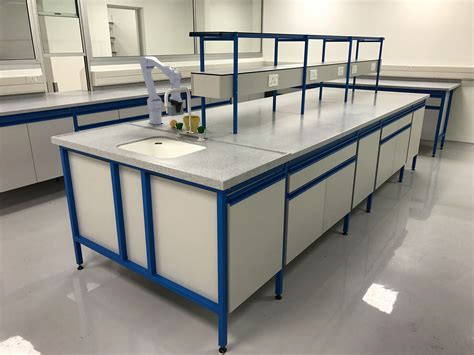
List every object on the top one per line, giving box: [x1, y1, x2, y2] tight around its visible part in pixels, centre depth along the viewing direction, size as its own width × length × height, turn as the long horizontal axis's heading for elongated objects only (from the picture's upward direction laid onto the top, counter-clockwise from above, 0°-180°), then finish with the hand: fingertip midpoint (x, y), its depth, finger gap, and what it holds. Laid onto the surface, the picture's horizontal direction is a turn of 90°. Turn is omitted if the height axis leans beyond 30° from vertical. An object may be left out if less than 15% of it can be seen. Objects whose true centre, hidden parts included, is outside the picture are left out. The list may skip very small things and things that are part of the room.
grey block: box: [167, 104, 185, 117], centre depth 244 cm, size 6×8×6 cm
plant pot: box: [182, 114, 201, 133], centre depth 231 cm, size 10×10×10 cm
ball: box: [169, 119, 178, 128], centre depth 246 cm, size 5×5×5 cm
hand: (176, 111), depth 245 cm, fingers closed on grey block, 6 cm apart
